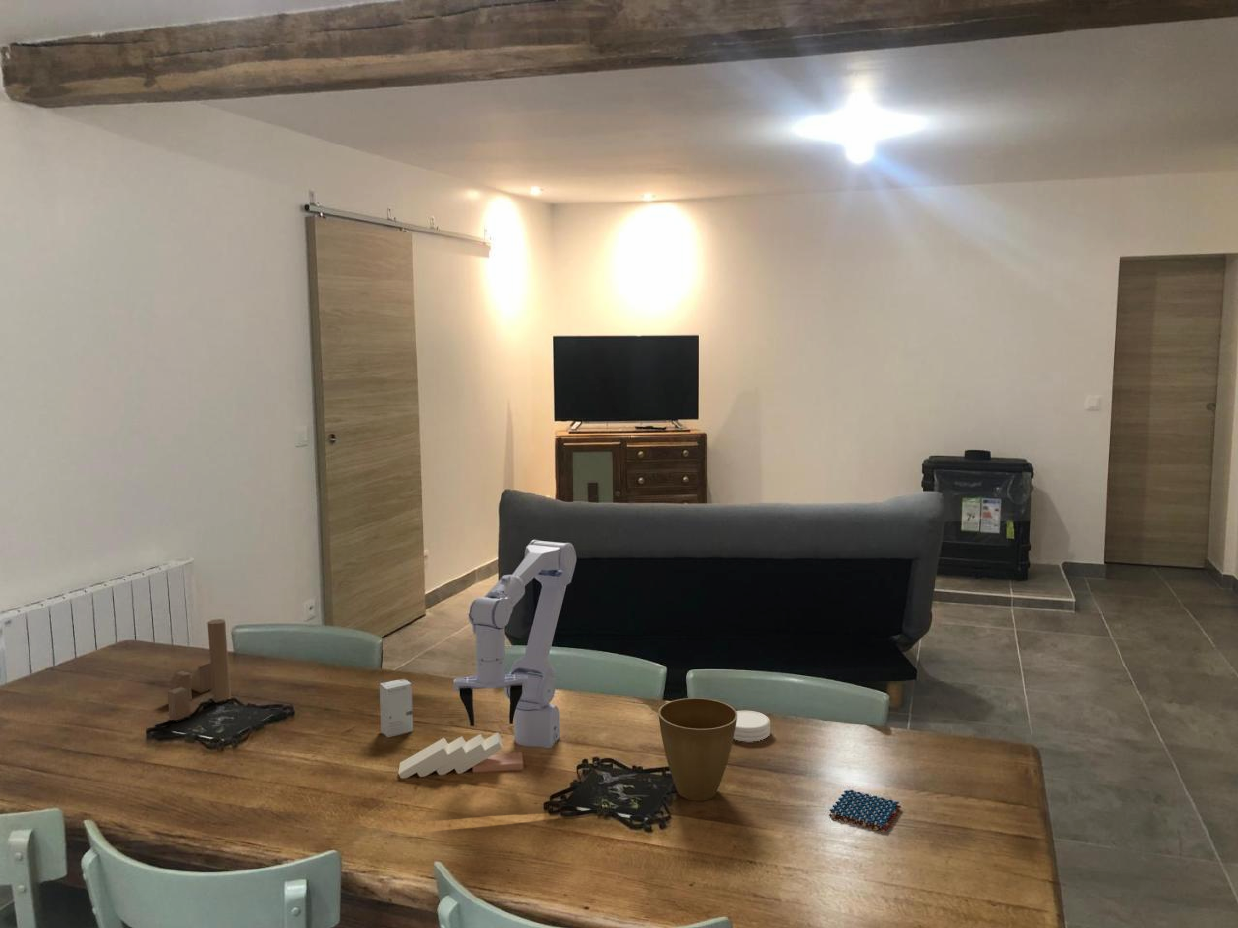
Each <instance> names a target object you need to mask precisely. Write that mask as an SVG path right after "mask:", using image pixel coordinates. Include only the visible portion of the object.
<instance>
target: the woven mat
mask: <svg viewBox="0 0 1238 928" xmlns="http://www.w3.org/2000/svg"><path fill="white" fill-rule="evenodd" d="M840 796H841V797H838V800H837V801H835V804H833V805H832V808H830V809H829V812H830V813H829V815H828V816H829V817H830V819H832V820H835V819H838V821H843V822H844V823H848V822H849V823H850V824H852V825H853V824H855V823H856V824H855V826H856V827H860V826H861V827H863V828H868V829H873V828H874V831H877V830H878V831H879V829H881V831H880V832H882V833H885V832H886V831H887V830H888V828H890V827H891V824H892V823H893V822H894V821H893V820H894V819H895V817H896V816H898V812H900V810H901V807H902V806H901V805H899V804H900V802H899V801H896V800H893V799H891V798H890V799H889V798H885V797H880V796H877V795H873V796H872V795H871V794H869V793H864V792H860V791H856V790H853V789H849V790H843V793H842V794H841V795H840ZM896 812H897V813H896ZM885 830H886V831H885ZM878 831H877V832H878Z"/></svg>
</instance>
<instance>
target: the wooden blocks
mask: <svg viewBox="0 0 1238 928" xmlns="http://www.w3.org/2000/svg"><path fill="white" fill-rule="evenodd" d="M206 624H207V638H208V647H209V659H210V660H209V662H207V663H204V664H201V665H198V667H197V668H196V670H195V671H194V673H193V675H192V676H191V673H190V672H187V671H184V670H180V671H177V672H175V673H174V675H173V676H172V678H171V679H170V680H169V686H170V687H169V689H170V690H168V691H167V700H168V701H167V703H168V712H169V713H168V715H169V720H170V719H172V720H179V719H182V718H184V717H187V716H189V715H191V716H192V712H191V701H193V697H192V695H193V694H192V691H194V692H197V691H198V693H201V694H202V693H205V692H209V691H212V700H214V701H222V700H226V699H231V700H232V696H231V683H230V682H231V681H230V679H231V678H230V669H229V667H230V666H229V656H228V655H229V654H228V644H227V643H228V641H227V640H228V639H227V626H226V619H223V618H217V619H211V620H209V621H207V623H206ZM208 690H209V691H208ZM172 720H171V721H172Z"/></svg>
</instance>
